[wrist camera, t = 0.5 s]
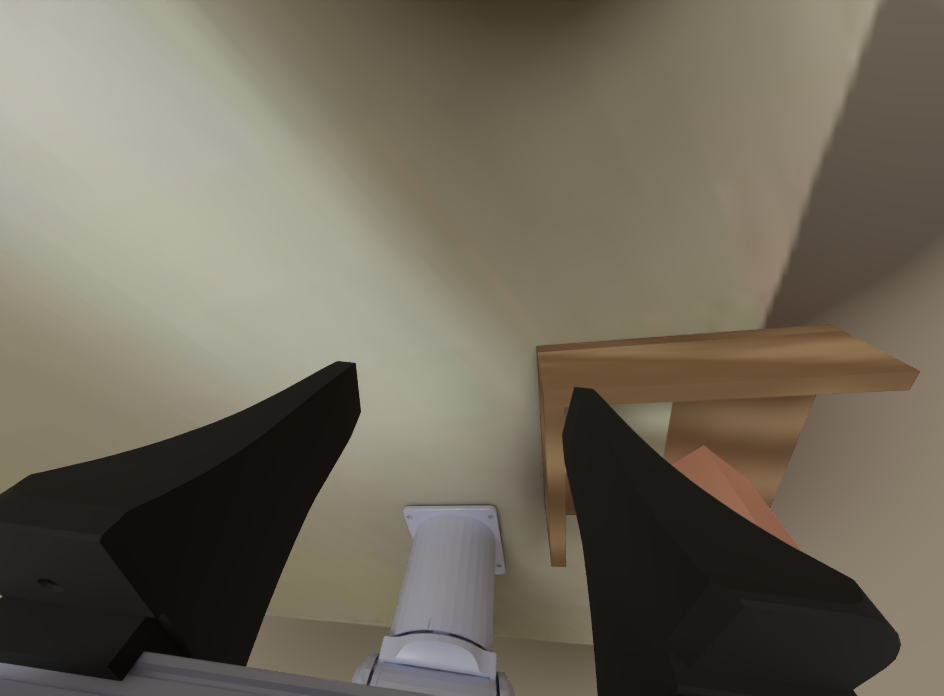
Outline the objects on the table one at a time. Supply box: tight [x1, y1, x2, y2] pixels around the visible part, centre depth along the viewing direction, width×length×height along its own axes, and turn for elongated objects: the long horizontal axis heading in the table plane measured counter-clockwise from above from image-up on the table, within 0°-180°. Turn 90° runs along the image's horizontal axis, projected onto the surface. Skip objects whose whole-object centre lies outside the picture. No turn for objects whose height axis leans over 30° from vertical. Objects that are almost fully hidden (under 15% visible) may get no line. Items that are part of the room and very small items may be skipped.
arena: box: [537, 324, 920, 567], centre depth 22 cm, size 15×16×5 cm
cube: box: [672, 445, 802, 552], centre depth 22 cm, size 5×5×6 cm
